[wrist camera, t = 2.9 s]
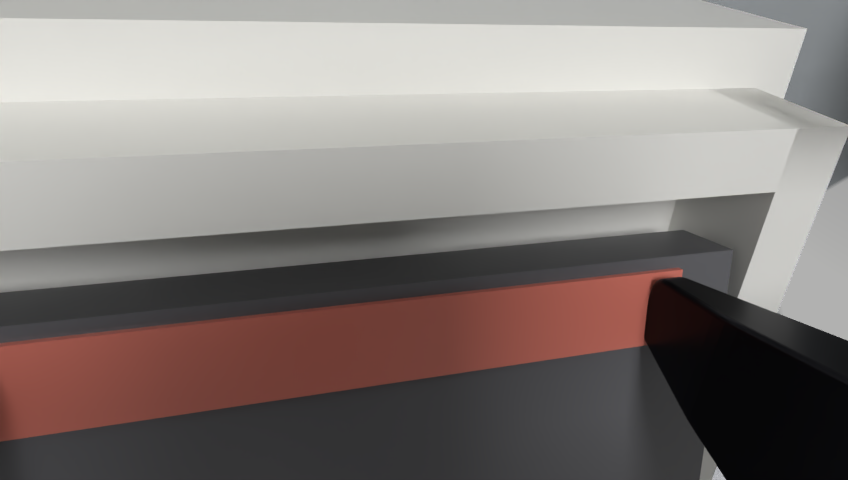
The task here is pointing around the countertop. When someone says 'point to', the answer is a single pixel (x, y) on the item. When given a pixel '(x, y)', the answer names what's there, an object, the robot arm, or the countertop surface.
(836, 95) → the countertop surface
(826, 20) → the countertop surface
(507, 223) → the breaker box
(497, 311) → the panel
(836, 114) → the countertop surface
